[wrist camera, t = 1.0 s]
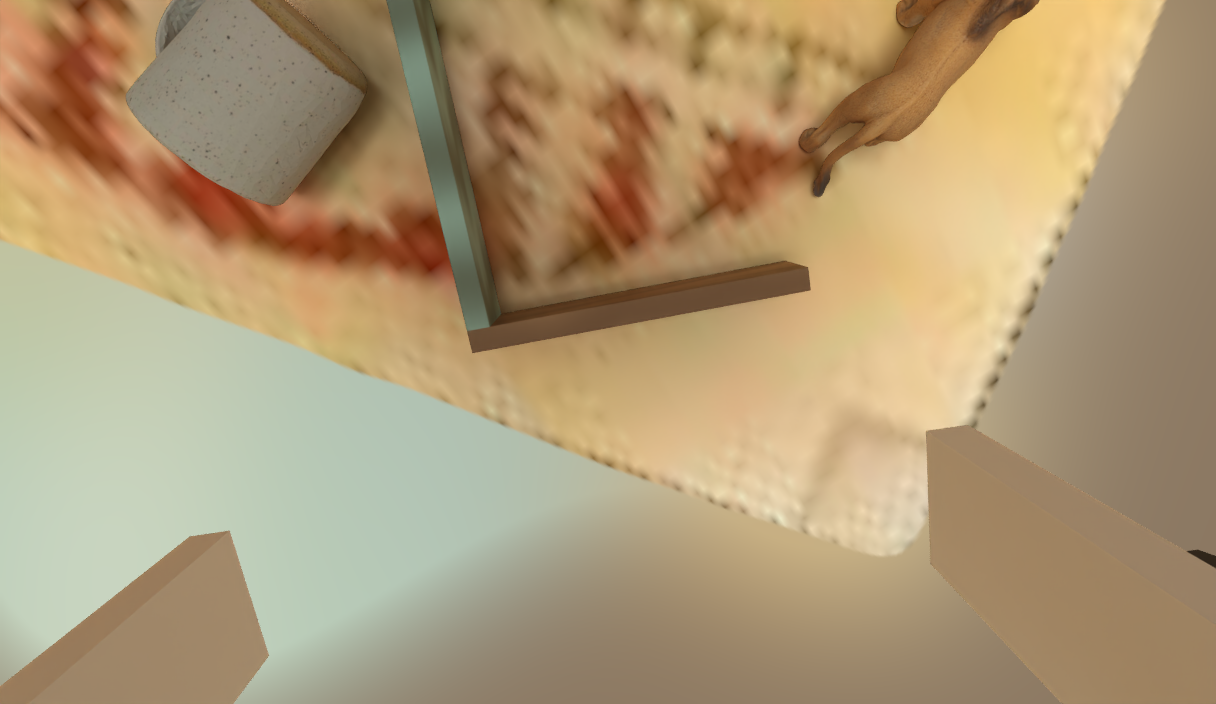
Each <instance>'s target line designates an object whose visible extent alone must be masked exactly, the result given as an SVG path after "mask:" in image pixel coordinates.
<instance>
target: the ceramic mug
mask: <svg viewBox="0 0 1216 704" xmlns="http://www.w3.org/2000/svg"><path fill="white" fill-rule="evenodd" d="M155 41H156V57H157V58H156V59H155V60H154V61H153V62H152V63H151V64H150V66H149V67H148V68H147V69H146V70H145V71H144V72H143V74H142V75H141V76H140V77H139V78H138V79H137V81H136V82H135V83H134V84H133V85H132V87H131V88H130V89H129V91H128V92H127V94H126V101H127V104H128V106H129V108H130V110H131V111H132V113H133V114H134V116H135V117H136V118H137V120H138V121H139V122H140V123H141V124H142V126H143V127H144V128H145V129H147V130H148V131H149V132H150V133H151V134H152V135H153V136H154V137H155V138H156V139H157V140H158V141H159V142H160V143H161V144H163V145H164V146H165V147H166V148H167V149H169V150H170V151H171V152H173V153H174V154H175V155H177V156H178V157H179V158H181V159H182V160H183V161H184V162H186V163H187V164H188V165H190V166H191V167H192V168H194V169H195V170H197V171H198V172H199V173H201V174H202V175H204V176H205V177H207V178H208V179H210V180H212V181H213V182H215V183H217V184H219V185H220V186H222V187H225V188H227V189H229V190H231V191H233V192H235V193H236V194H238V195H240V196H242V197H244V198H247V199H250V200H253V201H256V202H259V203H263V204H267V205H272V206H277V205H281V204H283V203H284V202H285V201H287V199H288V198H289V197H290V196H291V194H292V193H293V192H294V190H295V189H296V188H297V187H298V185H299V184H300V183H301V182H302V180H303V179H304V178H305V177H306V175H307V174H308V173H309V172H310V170H311V169H312V168H313V167H314V165H315V164H316V163H317V161H318V160H319V159H320V157H321V156H322V155H323V153H324V152H325V151H326V150H327V148H328V147H329V146H330V144H331V143H332V142H333V140H334V139H335V138H336V136H337V135H338V134H339V133H340V132H341V131H342V129H343V128H344V127H345V126H346V125H347V124H348V122H349V121H350V120H351V118H352V117H353V116H354V114H355V113H356V111H357V110H358V108H359V106H360V104H361V102H362V100H363V98H364V96H365V94H366V92H367V85H366V79H365V76H364V74H363V73H362V72H361V71H360V69H359V68H358V67H357V66H356V65H355V64H354V63H353V62H352V61H351V60H350V59H349V58H348V57H347V56H346V55H345V54H344V53H343V52H342V51H341V50H339V49H338V48H337V47H336V46H335V45H334V44H333V43H332V42H331V41H330V40H329V39H328V38H326V37H325V36H324V35H323V34H322V33H321V32H320V31H319V30H318V29H317V28H316V27H315V26H313V25H312V24H311V23H310V22H309V21H308V20H307V19H305V18H304V17H303V16H302V15H301V14H300V13H299V12H298V11H297V10H295V9H294V8H293V7H292V6H291V5H290V4H288V3H287V2H286V1H285V0H172V1H171V3H170V4H169V6H168V7H167V8H166V10H165V12H164V14H163V16H162V18H161V20H160V23H159V26H158V29H157V33H156V40H155Z"/></svg>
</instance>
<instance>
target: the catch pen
mask: <svg viewBox="0 0 1216 704" xmlns="http://www.w3.org/2000/svg"><path fill="white" fill-rule="evenodd" d="M386 1H387V5H388V9H389V13H390V17H391V21H392V25H393V29H394V33H395V37H396V42H397V46H398V50H399V54H400V58H401V62H402V66H403V70H404V74H405V78H406V82H407V87H408V91H409V95H410V99H411V103H412V107H413V111H414V115H415V119H416V123H417V128H418V132H419V136H420V140H421V144H422V148H423V152H424V156H425V160H426V164H427V168H428V173H429V177H430V181H431V185H432V189H433V193H434V197H435V201H436V205H437V209H438V214H439V218H440V222H441V226H442V230H443V234H444V238H445V242H446V246H447V250H448V254H449V259H450V263H451V267H452V271H453V275H454V279H455V283H456V287H457V291H458V295H459V300H460V304H461V308H462V312H463V316H464V320H465V324H466V328H467V332H468V336H469V340H470V345H471V349H472V353H475V352H481V351H486V350H492V349H497V348H502V347H508V346H513V345H519V344H524V343H529V342H535V341H540V340H545V339H551V338H556V337H562V336H567V335H572V334H578V333H583V332H589V331H594V330H599V329H605V328H610V327H615V326H621V325H626V324H632V323H637V322H642V321H648V320H653V319H659V318H664V317H669V316H675V315H680V314H685V313H691V312H696V311H702V310H707V309H712V308H718V307H723V306H729V305H734V304H739V303H745V302H750V301H755V300H761V299H766V298H772V297H777V296H782V295H788V294H793V293H799V292H804V291H809V290H811V289H810V280H809V271H808V267H805V266H801V265H798V264H794V263H791V262H787V261H782V262H776V263H771V264H766V265H760V266H755V267H750V268H744V269H739V270H734V271H728V272H723V273H718V274H712V275H707V276H702V277H696V278H691V279H686V280H680V281H675V282H669V283H664V284H659V285H653V286H648V287H643V288H637V289H632V290H627V291H621V292H616V293H611V294H605V295H600V296H595V297H589V298H584V299H579V300H573V301H568V302H563V303H557V304H552V305H547V306H541V307H536V308H531V309H525V310H520V311H515V312H509V313H504V314H501V310H500V306H499V302H498V297H497V293H496V289H495V284H494V280H493V275H492V271H491V267H490V262H489V258H488V254H487V249H486V245H485V241H484V236H483V232H482V228H481V223H480V219H479V214H478V210H477V206H476V201H475V197H474V193H473V188H472V184H471V180H470V175H469V171H468V166H467V162H466V158H465V153H464V149H463V145H462V140H461V136H460V132H459V127H458V123H457V119H456V114H455V110H454V105H453V101H452V97H451V92H450V88H449V84H448V79H447V75H446V71H445V66H444V62H443V57H442V53H441V49H440V44H439V40H438V36H437V31H436V27H435V23H434V18H433V14H432V10H431V5H430V1H429V0H386Z"/></svg>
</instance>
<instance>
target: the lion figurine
mask: <svg viewBox="0 0 1216 704" xmlns="http://www.w3.org/2000/svg"><path fill="white" fill-rule="evenodd" d="M1038 2H1039V0H902V1H900V2H899V3H898V4H897V12H896V14H897V19H898V21H899V23H900V24H902V25H903V26H905V27H912V26H914V25H917V24H919V23H920V22H922V21H923V20H924V21H923V22H922V23H921V25H920V26H919V28H918V29H917V31H916V32H915V34H914V35H913V37H912V38H911V40H910V41H909V42H908V44H907V45H906V47H905V48H904V50H903V51H902V53H901V54H900V56H899V58H898V60H897V62H896V64H895V66H894V69H893V71H892V73H891V74H889V75H886V76H883V77H880V78H877V79H875V80H873V81H871V82H869V83H866V84H865V85H863V86H862V87H860V88H859V89H858V90H856V91H855V92H853V93H852V94H850V95H849V96H848V97H846V98H845V99H844V100H843V101H842V102H841V103H840V104H839V105H838V106H837V107H836V108H835V109H834V110H833V112H832V113H831V114H830V115H829V117H828V118H827V119H826V120H825V122H824V123H823V124H822V125H821V126H820V127H819V128H810V129H806V130H805V131H804V132H803V133H802V135H801V137H800V140H799V143H800V146H801V147H802V148H803V149H804V150H805V151H807V152H810V153H811V152H813V151H815V150H816V149H817V148H819V147H820V146H822V145H823V144H824V143H826V141H827V140H828V139H829V138H830V136H831V135H832V134H833V133H834V132H835V131H836V130H837V129H838V128H840V127H843V126H845V125H846V124H848V123H865V125H864V126H863V127H862V129H861V130H860V131H859V132H858V133H856V134H855V135H854V136H853V137H851V138H849V139H848V140H846V141H845V142H844V143H842V144H841V145H839V146H838V147H837V148H836V149H834V150H833V151H832V152H831V153H830V154H829V155H828V156H827V158H826V159H825V161H824V163H823V165H822V168H821V172H820V174H819V176H818V177H817V179H816V180H815V181H814V189H813V191H814V195H815V196H817V197H820V196H822V194H823V193H824V190H825V188H826V186H827V184H828V183H829V180H830V172H831V168H832V166H833V164H834V163H835V162H836V161H837V160H838V159H840V158H841V157H842V156H844V155H845V154H847V153H849V152H850V151H852V150H854V149H856V148H858V147H860V146H861V145H863V144H865V145H866V146H873V145H877V144H878V143H881V142H884V141H899V140H901V139H903V138H904V137H906V136H907V135H909V134H910V133H911V132H913V131H914V130H915V129H917V128H918V127H919V126H920V125H921V124H922V123H923V122H924V120H925V119H926V118H927V117H928V116H929V115H930V113H931V112H932V111H933V110H934V109H935V107H936V106H937V104H938V102H939V101H940V99H941V97H942V96H943V95H944V93H945V92H946V91H947V90H948V89H949V87H950V86H951V85H952V84H954V83H955V82H956V81H957V80H958V79H959V78H960V77H961V76H962V75H963V74H964V73H965V72H966V71H967V70H968V69H969V68H970V67H971V66H972V65H973V64H974V62H975V61H976V60H977V59H978V57H979V56H980V55H981V54H982V52H983V51H984V50H985V48H986V47H987V46H988V44H989V43H990V42H991V41H992V39H993V38H994V37H995V35H996V34H997V32H998V31H1000V30H1002V29H1003V28H1005V27H1006V26H1007V25H1008V24H1009V23H1010V22H1011V21H1012V20H1014V19H1017V18H1020V17H1022V16H1023V15H1025V14H1027V13H1028V12H1029V11H1030V10H1032V9H1033V8H1034V7H1035V5H1036V4H1038Z"/></svg>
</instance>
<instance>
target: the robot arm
mask: <svg viewBox="0 0 1216 704" xmlns="http://www.w3.org/2000/svg"><path fill="white" fill-rule="evenodd" d="M926 444H927V474H928V504H929V534H930V563H931V565H932V566H933V567H934V568H935V569H936V570H937V571H938V572H939V573H940V574H941V576H942V577H943V578H944V579H945V580H946V581H947V582H948V583H949V584H950V585H951V586H952V587H953V588H954V589H955V590H956V592H957V593H959V595H960V596H961V597H962V598H963V599H964V600H965V601H966V602H967V603H968V604H969V605H970V606H971V607H972V609H973V610H975V612H976V613H977V614H978V615H979V616H980V617H981V618H982V619H983V620H984V621H985V622H986V623H987V624H988V626H990V628H991V629H992V630H993V631H994V632H995V633H996V634H997V635H998V636H999V637H1000V638H1001V639H1002V640H1003V642H1004V643H1005V644H1006V645H1007V646H1008V647H1009V648H1010V649H1011V650H1012V651H1013V652H1014V653H1015V654H1016V655H1017V656H1018V657H1019V658H1020V660H1022V662H1023V663H1024V664H1025V665H1026V666H1027V667H1028V668H1029V669H1030V670H1031V671H1032V672H1033V673H1034V674H1035V675H1036V677H1037V678H1038V679H1039V680H1040V681H1041V682H1042V683H1043V684H1044V685H1045V686H1046V687H1047V688H1048V689H1049V690H1050V691H1051V693H1052V694H1053V695H1054V696H1055V697H1056V698H1057V699H1058V700H1059V701H1060V702H1061V703H1062V704H1216V556H1214V555H1211V554H1208V553H1206V552H1203V551H1200V550H1193V551H1185V550H1183V549H1181V548H1180V547H1177V546H1176V545H1174V544H1173V543H1171V542H1169V541H1167V540H1166V539H1164V538H1162V537H1160V536H1159V535H1157V534H1155V533H1154V532H1152V531H1150V530H1148V529H1147V528H1145V527H1143V526H1142V525H1140V524H1138V523H1136V522H1134V521H1133V520H1131V519H1129V518H1128V517H1126V516H1124V515H1123V514H1121V513H1119V512H1117V511H1116V510H1114V509H1112V508H1110V507H1109V506H1107V505H1105V504H1103V503H1102V502H1100V501H1098V500H1097V499H1095V498H1093V497H1091V496H1090V495H1088V494H1086V493H1084V492H1082V491H1081V490H1079V489H1077V488H1076V487H1074V486H1072V485H1071V484H1069V483H1067V482H1065V481H1064V480H1062V479H1060V478H1059V477H1057V476H1055V475H1053V474H1051V473H1050V472H1048V471H1046V470H1045V469H1043V468H1041V467H1039V466H1038V465H1036V464H1034V463H1033V462H1031V461H1029V460H1027V459H1026V458H1024V457H1022V456H1020V455H1019V454H1017V453H1015V452H1013V451H1012V450H1010V449H1008V448H1007V447H1005V446H1003V445H1001V444H1000V443H998V442H996V441H995V440H993V439H991V438H989V437H988V436H986V435H984V434H982V433H981V432H979V431H977V430H976V429H974V428H972V427H970V426H969V425H964V426H957V427H950V428H943V429H936V430H929V431H926ZM268 656H269V654H268V651H267V648H266V645H265V642H264V638H263V635H262V632H261V629H260V626H259V623H258V619H257V616H256V613H255V610H254V607H253V604H252V601H251V597H250V594H249V591H248V588H247V585H246V582H245V578H244V576H243V572H242V569H241V566H240V563H239V559H238V556H237V553H236V550H235V547H234V544H233V540H232V537H231V534H230V531H225V532H218V533H211V534H204V535H197V536H191V537H189V538H187V539H186V540H185V541H184V542H182V543H181V544H180V545H178V546H177V547H176V548H175V549H174V550H172V551H171V552H170V553H168V554H167V555H166V556H165V557H164V558H162V559H161V560H160V561H158V562H157V563H156V564H155V565H153V566H152V567H151V568H149V569H148V570H147V571H146V572H144V573H143V574H142V575H141V576H139V577H138V578H137V579H136V580H134V581H133V582H132V583H130V584H129V585H128V586H127V587H125V588H124V589H123V590H122V591H120V592H119V593H118V594H116V595H115V596H114V597H113V598H112V599H110V600H109V601H108V602H106V603H105V604H104V605H103V606H101V607H100V608H99V609H98V610H96V611H95V612H94V613H92V614H91V615H90V616H89V617H87V618H86V619H85V620H84V621H82V622H81V623H80V624H79V625H77V626H76V627H75V628H74V629H72V630H71V631H70V632H68V633H67V634H66V635H65V636H63V637H62V638H61V639H60V640H58V641H57V642H56V643H55V644H53V645H52V646H51V647H49V648H48V649H47V650H46V651H45V652H43V653H42V654H41V655H39V656H38V657H37V658H36V659H34V660H33V661H32V662H30V663H29V664H28V665H27V666H25V667H24V668H23V669H22V670H20V671H19V672H18V673H17V674H15V675H14V676H13V677H12V678H10V679H9V680H8V681H6V682H5V683H4V684H3V685H1V686H0V704H233V703H234V702H235V701H236V699H237V698H238V696H239V695H240V694H241V693H242V691H243V690H244V689H245V687H246V685H248V683H249V682H250V681H251V679H252V678H253V677H254V675H255V674H256V672H257V671H258V670H259V669H260V667H261V666H262V664H263V663H264V662H265V660H266V659H267V658H268Z"/></svg>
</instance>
